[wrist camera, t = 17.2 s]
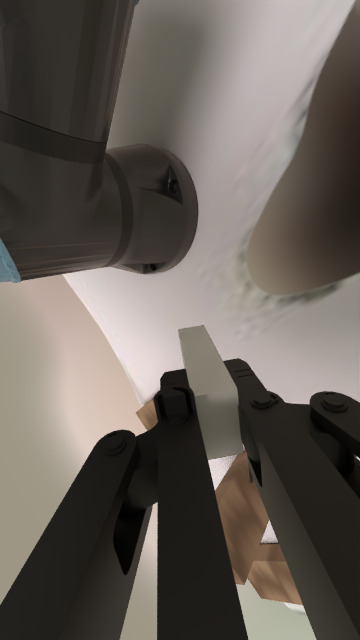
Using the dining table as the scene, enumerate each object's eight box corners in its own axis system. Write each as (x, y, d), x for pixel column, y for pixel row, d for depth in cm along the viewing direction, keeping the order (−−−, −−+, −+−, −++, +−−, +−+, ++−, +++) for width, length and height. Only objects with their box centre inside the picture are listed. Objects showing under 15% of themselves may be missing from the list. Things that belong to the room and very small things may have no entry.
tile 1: (181, 376, 39) (146, 404, 46) (169, 384, 37) (135, 412, 44) (205, 409, 38) (165, 432, 45) (195, 419, 36) (155, 442, 43)
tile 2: (237, 453, 36) (190, 528, 27) (251, 448, 35) (205, 526, 26) (265, 491, 35) (226, 582, 26) (281, 488, 33) (244, 584, 24)
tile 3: (304, 542, 34) (242, 543, 41) (299, 562, 32) (235, 559, 39) (336, 586, 32) (267, 579, 40) (334, 610, 30) (261, 598, 38)
